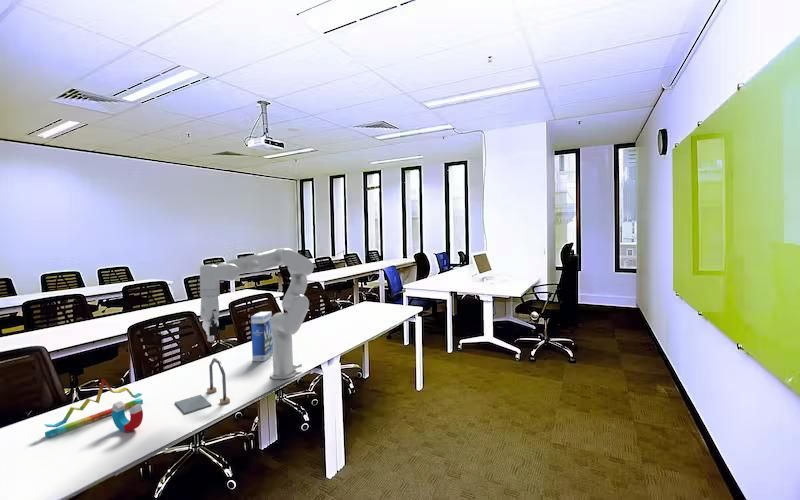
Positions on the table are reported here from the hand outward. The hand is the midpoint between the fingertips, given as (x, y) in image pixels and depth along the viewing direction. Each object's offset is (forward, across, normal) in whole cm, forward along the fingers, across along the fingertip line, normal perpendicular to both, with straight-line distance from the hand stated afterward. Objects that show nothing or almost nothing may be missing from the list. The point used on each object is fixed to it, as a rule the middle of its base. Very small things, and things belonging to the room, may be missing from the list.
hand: (210, 333), depth 160 cm
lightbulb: (+4, 0, 0) cm, 4 cm away
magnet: (+29, +7, -31) cm, 43 cm away
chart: (+30, -13, -37) cm, 49 cm away
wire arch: (+28, +2, +2) cm, 28 cm away
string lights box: (+28, -35, +39) cm, 59 cm away
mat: (+28, +2, -8) cm, 30 cm away
